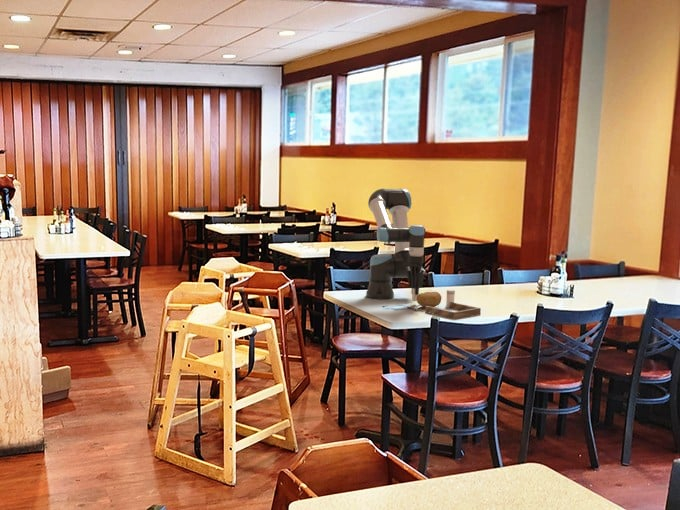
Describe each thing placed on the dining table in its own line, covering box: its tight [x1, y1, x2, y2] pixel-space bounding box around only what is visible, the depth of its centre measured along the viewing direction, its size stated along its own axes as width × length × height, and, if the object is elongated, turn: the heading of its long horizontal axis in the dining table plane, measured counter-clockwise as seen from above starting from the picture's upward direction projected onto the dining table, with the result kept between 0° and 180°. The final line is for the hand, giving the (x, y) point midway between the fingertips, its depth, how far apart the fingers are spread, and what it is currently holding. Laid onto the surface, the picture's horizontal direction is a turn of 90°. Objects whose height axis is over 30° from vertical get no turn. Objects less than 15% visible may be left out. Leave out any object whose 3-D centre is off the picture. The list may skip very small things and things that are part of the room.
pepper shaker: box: [445, 289, 456, 308], centre depth 362 cm, size 4×4×8 cm
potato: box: [416, 291, 442, 309], centre depth 358 cm, size 10×14×8 cm
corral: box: [425, 301, 482, 320], centre depth 346 cm, size 19×19×3 cm
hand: (414, 300), depth 365 cm, fingers closed
